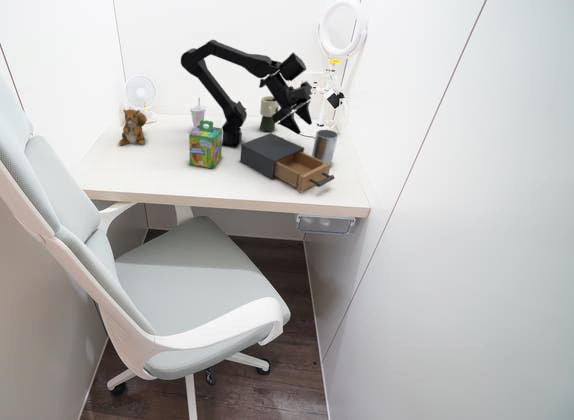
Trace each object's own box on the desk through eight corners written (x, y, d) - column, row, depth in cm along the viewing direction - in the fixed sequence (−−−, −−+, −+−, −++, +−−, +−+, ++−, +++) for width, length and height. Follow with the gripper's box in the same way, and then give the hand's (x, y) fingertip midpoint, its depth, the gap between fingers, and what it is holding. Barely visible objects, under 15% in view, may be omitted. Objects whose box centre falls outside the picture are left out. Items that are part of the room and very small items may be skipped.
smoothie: (205, 133, 135) (204, 100, 126) (190, 133, 136) (188, 100, 127) (206, 127, 140) (206, 95, 131) (192, 127, 141) (191, 94, 132)
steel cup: (311, 167, 111) (317, 137, 104) (309, 157, 116) (315, 129, 109) (331, 168, 109) (339, 138, 103) (329, 159, 115) (336, 130, 108)
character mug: (276, 135, 132) (280, 103, 124) (258, 134, 133) (261, 103, 125) (275, 124, 140) (279, 94, 132) (258, 124, 141) (261, 94, 133)
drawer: (338, 182, 101) (342, 168, 98) (311, 198, 95) (314, 183, 92) (293, 160, 113) (295, 147, 110) (266, 172, 107) (267, 159, 104)
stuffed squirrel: (118, 146, 128) (112, 114, 120) (128, 131, 139) (123, 101, 131) (142, 147, 127) (138, 114, 119) (151, 132, 138) (147, 101, 130)
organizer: (301, 165, 112) (304, 147, 107) (271, 179, 105) (274, 161, 101) (268, 150, 122) (270, 132, 118) (240, 161, 115) (241, 144, 111)
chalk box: (189, 165, 114) (187, 125, 105) (198, 153, 121) (197, 115, 112) (213, 169, 111) (213, 129, 102) (222, 157, 118) (222, 118, 109)
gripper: (284, 82, 97) (313, 125, 98) (310, 68, 108) (335, 107, 109) (259, 103, 106) (286, 143, 107) (285, 88, 117) (309, 124, 118)
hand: (305, 128), depth 110 cm, fingers open, 9 cm apart
